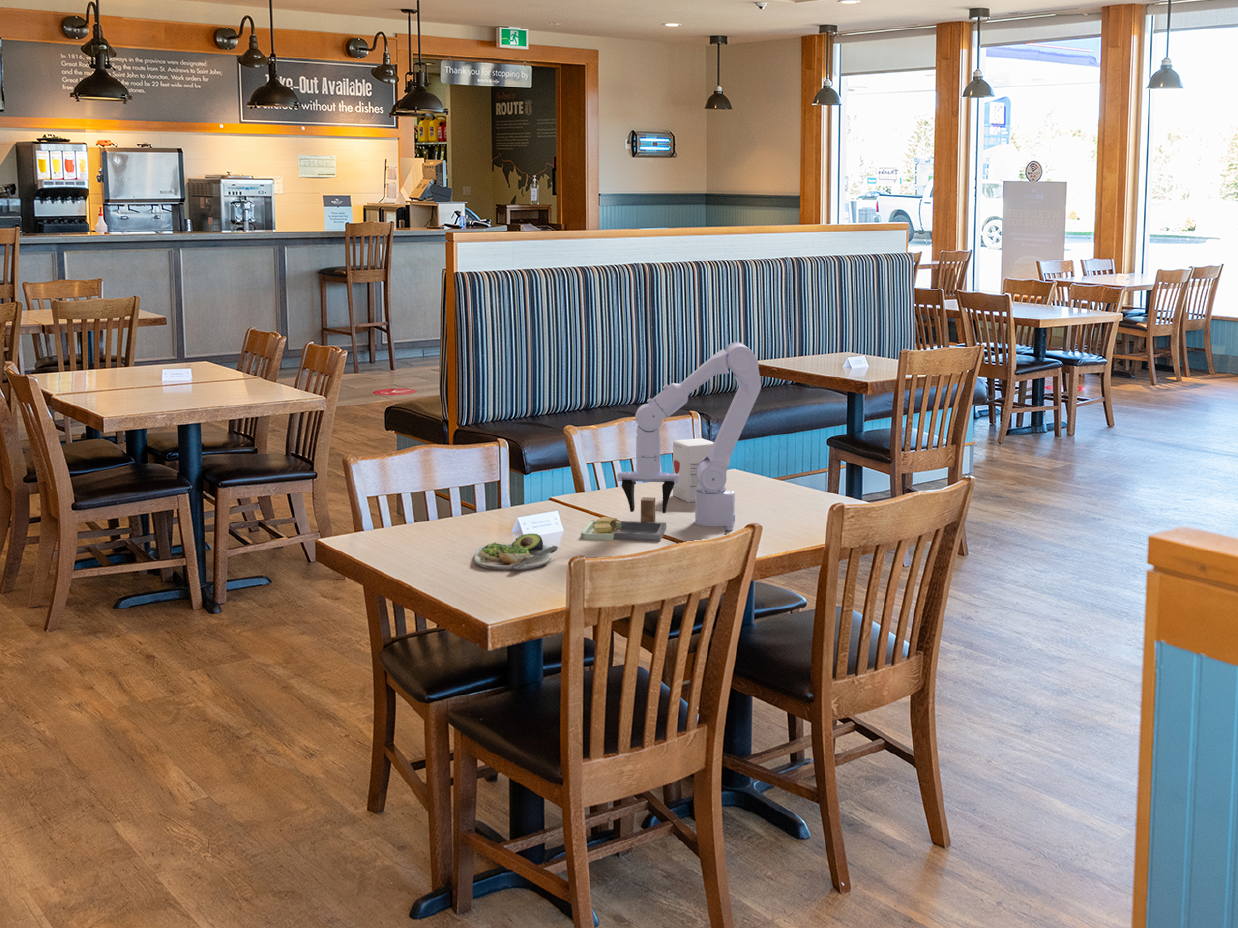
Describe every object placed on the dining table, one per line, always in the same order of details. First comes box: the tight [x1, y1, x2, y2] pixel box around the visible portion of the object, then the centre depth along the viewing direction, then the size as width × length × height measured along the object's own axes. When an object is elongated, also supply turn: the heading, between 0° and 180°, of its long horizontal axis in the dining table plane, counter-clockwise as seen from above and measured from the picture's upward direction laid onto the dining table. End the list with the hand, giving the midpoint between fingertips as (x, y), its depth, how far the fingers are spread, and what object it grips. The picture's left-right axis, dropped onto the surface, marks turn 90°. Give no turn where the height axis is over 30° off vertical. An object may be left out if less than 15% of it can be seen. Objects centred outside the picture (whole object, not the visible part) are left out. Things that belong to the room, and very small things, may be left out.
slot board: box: [613, 520, 667, 542], centre depth 282 cm, size 10×11×2 cm
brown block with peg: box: [640, 496, 656, 522], centre depth 291 cm, size 3×8×7 cm, turn 169°
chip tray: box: [580, 520, 622, 541], centre depth 284 cm, size 8×12×2 cm, turn 170°
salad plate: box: [473, 533, 559, 571], centre depth 264 cm, size 19×18×5 cm
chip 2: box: [593, 523, 613, 534], centre depth 281 cm, size 4×4×2 cm
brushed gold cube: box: [596, 516, 617, 532], centre depth 286 cm, size 4×4×2 cm
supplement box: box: [672, 437, 714, 503], centre depth 321 cm, size 9×9×15 cm
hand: (648, 511), depth 292 cm, fingers open, 7 cm apart
